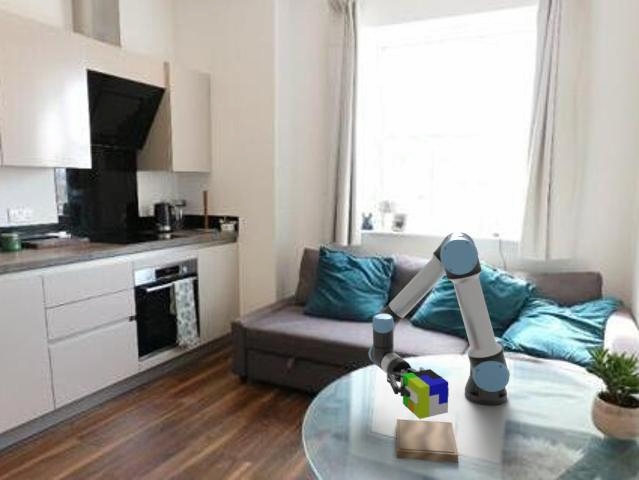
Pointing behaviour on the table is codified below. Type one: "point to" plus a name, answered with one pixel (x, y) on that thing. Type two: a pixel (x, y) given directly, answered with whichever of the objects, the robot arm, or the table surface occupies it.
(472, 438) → the table surface
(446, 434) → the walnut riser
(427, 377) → the puzzle toy
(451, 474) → the table surface
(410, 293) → the robot arm
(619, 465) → the table surface
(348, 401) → the table surface
